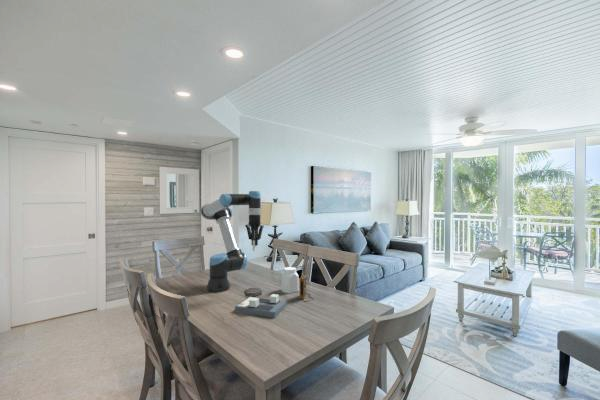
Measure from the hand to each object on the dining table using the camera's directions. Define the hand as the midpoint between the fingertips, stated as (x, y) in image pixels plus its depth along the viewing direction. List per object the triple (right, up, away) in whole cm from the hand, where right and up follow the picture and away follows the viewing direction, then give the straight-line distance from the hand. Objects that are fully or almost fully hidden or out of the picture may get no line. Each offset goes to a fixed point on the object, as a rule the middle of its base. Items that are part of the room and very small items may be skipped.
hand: (254, 250), depth 183 cm
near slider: (+5, -25, -29) cm, 39 cm away
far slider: (+15, -25, -24) cm, 38 cm away
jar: (+23, -29, +6) cm, 37 cm away
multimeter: (+35, -29, -8) cm, 46 cm away
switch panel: (+8, -29, -26) cm, 39 cm away
